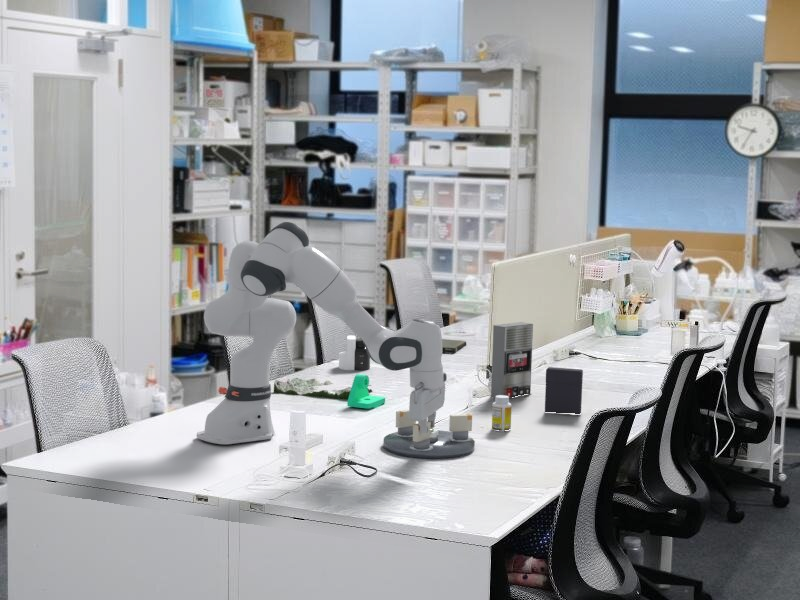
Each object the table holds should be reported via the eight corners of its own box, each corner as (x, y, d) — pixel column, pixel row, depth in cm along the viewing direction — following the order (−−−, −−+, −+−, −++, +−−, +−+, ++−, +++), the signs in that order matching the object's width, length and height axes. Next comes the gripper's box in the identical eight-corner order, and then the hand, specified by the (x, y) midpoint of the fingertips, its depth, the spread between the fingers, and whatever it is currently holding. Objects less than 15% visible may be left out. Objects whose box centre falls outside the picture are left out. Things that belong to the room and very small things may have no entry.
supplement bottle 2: (509, 428, 348) (511, 394, 347) (511, 433, 342) (512, 398, 341) (490, 428, 348) (492, 394, 347) (492, 432, 342) (493, 398, 341)
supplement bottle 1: (350, 373, 429) (350, 341, 428) (352, 370, 436) (352, 338, 435) (368, 374, 429) (369, 341, 428) (370, 370, 436) (371, 338, 434)
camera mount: (368, 412, 366) (369, 379, 365) (347, 409, 370) (347, 377, 369) (386, 405, 377) (387, 373, 376) (365, 402, 380) (365, 371, 379)
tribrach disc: (431, 464, 306) (431, 444, 305) (364, 446, 323) (364, 427, 322) (493, 448, 323) (493, 430, 323) (426, 432, 341) (427, 415, 340)
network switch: (402, 357, 469) (402, 345, 468) (411, 348, 492) (411, 336, 491) (460, 360, 465) (460, 348, 464) (467, 351, 488) (467, 339, 487)
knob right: (452, 440, 322) (453, 417, 322) (447, 436, 327) (448, 413, 326) (473, 439, 324) (473, 416, 323) (468, 435, 328) (468, 413, 327)
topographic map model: (318, 377, 424) (318, 363, 423) (394, 385, 413) (394, 371, 413) (273, 395, 391) (273, 380, 390) (355, 404, 380) (355, 388, 380)
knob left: (420, 443, 318) (421, 420, 317) (434, 446, 315) (435, 422, 315) (408, 447, 313) (408, 424, 312) (421, 450, 311) (422, 426, 310)
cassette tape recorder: (503, 403, 384) (506, 327, 381) (490, 400, 389) (492, 325, 386) (532, 398, 393) (535, 324, 390) (518, 395, 398) (521, 321, 395)
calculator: (581, 416, 367) (583, 369, 365) (579, 419, 363) (581, 371, 361) (546, 413, 370) (548, 366, 368) (544, 416, 366) (546, 368, 364)
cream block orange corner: (408, 430, 333) (409, 408, 332) (418, 433, 329) (419, 410, 329) (392, 433, 329) (392, 410, 328) (402, 436, 326) (403, 413, 325)
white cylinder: (338, 367, 438) (339, 335, 437) (362, 367, 439) (363, 335, 437) (338, 371, 429) (339, 339, 428) (363, 371, 430) (364, 339, 428)
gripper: (426, 387, 302) (427, 440, 303) (448, 373, 321) (449, 422, 322) (402, 386, 304) (403, 438, 305) (426, 372, 323) (427, 421, 325)
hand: (427, 430), depth 314 cm, fingers closed on knob left, 4 cm apart
